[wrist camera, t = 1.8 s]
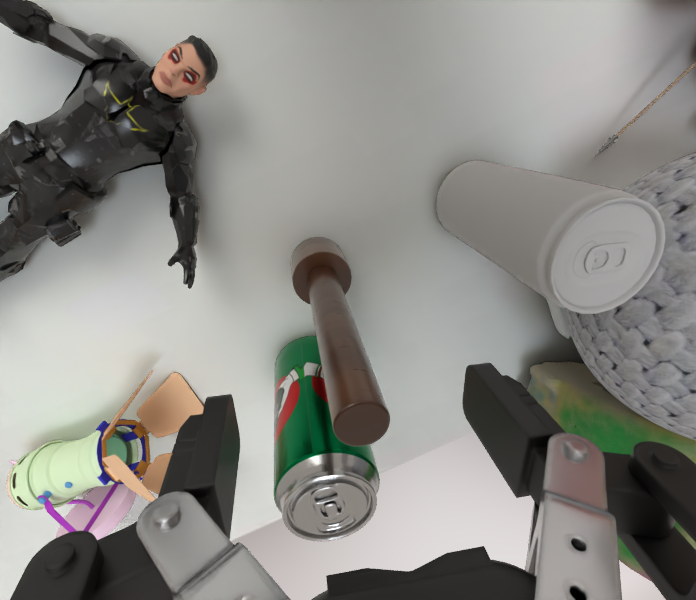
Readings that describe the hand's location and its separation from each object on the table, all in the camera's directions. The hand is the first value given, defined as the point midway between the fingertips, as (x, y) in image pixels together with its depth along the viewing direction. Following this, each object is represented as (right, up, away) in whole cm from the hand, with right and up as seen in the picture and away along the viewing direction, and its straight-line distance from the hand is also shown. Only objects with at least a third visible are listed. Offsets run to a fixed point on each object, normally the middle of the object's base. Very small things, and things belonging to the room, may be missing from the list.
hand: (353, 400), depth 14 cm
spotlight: (-17, -6, +15) cm, 23 cm away
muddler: (-2, +6, +12) cm, 14 cm away
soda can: (-3, -1, +15) cm, 16 cm away
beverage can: (+8, +10, +12) cm, 17 cm away
